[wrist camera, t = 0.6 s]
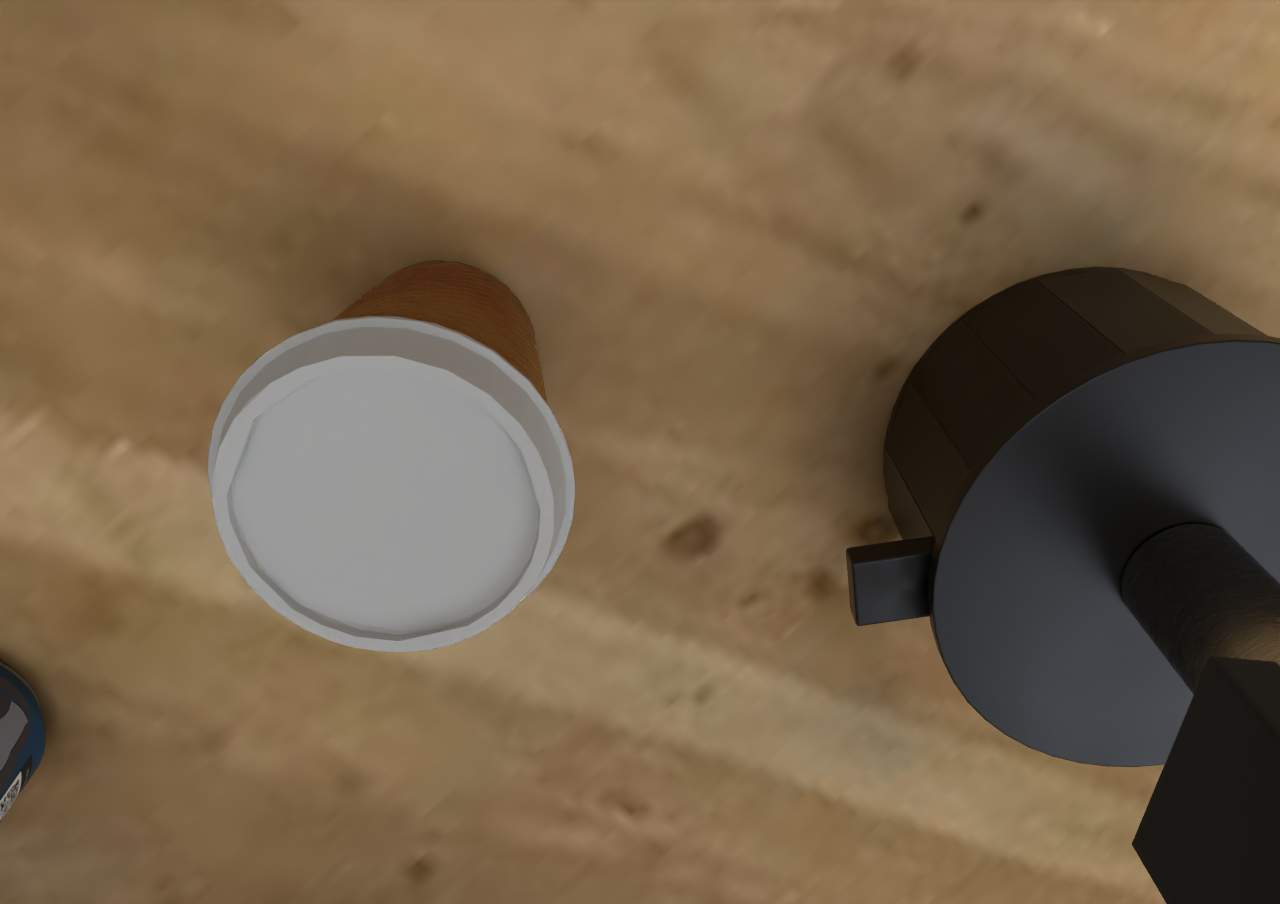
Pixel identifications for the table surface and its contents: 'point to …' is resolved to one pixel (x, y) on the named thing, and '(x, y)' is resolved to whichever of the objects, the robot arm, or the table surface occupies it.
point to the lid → (1117, 549)
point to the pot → (1002, 401)
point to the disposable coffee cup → (396, 466)
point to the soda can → (18, 736)
